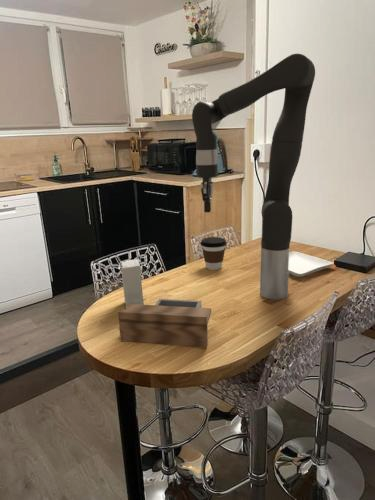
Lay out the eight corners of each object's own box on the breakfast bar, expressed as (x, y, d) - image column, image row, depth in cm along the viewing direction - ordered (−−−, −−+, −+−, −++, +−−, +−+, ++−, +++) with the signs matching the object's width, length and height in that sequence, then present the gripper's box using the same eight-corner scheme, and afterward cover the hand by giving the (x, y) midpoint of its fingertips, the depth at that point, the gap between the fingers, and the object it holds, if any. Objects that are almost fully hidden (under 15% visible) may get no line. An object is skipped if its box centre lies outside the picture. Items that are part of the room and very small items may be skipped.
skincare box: (144, 309, 125) (141, 266, 121) (125, 311, 124) (122, 268, 120) (141, 298, 133) (138, 258, 129) (124, 301, 132) (120, 260, 127)
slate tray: (201, 309, 123) (201, 300, 122) (191, 337, 106) (190, 327, 106) (159, 307, 126) (159, 298, 125) (143, 334, 109) (142, 324, 108)
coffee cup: (213, 273, 154) (213, 245, 151) (195, 267, 162) (194, 240, 159) (232, 267, 161) (232, 239, 158) (213, 261, 169) (213, 235, 166)
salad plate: (334, 269, 156) (335, 261, 155) (300, 282, 144) (300, 273, 143) (293, 257, 172) (293, 250, 171) (259, 267, 161) (259, 259, 160)
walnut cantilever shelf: (211, 330, 110) (211, 301, 107) (207, 348, 101) (206, 317, 98) (131, 325, 114) (129, 297, 112) (120, 341, 106) (117, 312, 103)
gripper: (215, 164, 127) (215, 215, 132) (219, 161, 139) (219, 208, 144) (192, 164, 128) (194, 215, 133) (199, 161, 141) (200, 208, 146)
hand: (207, 211), depth 139 cm, fingers closed
